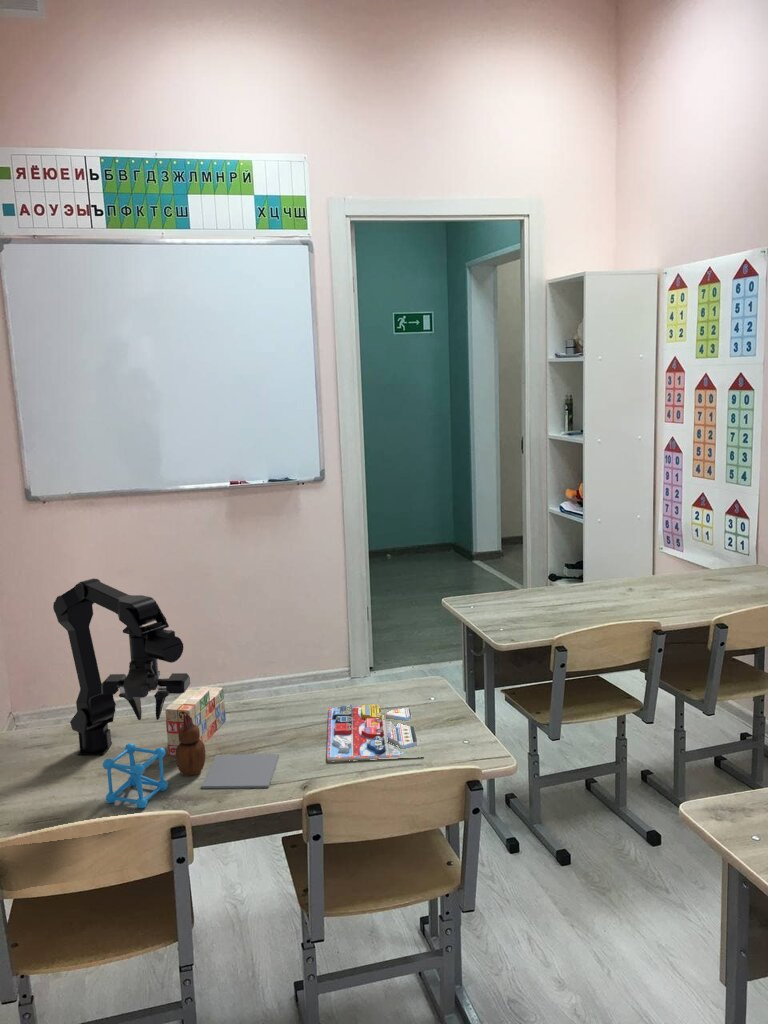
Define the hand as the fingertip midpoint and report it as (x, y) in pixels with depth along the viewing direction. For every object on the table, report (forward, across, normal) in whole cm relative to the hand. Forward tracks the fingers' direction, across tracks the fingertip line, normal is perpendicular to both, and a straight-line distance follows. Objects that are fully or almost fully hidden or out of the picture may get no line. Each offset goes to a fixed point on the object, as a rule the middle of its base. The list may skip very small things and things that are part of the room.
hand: (148, 719), depth 190 cm
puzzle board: (+14, +50, +20) cm, 56 cm away
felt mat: (+13, +20, 0) cm, 24 cm away
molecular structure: (+13, 0, -11) cm, 17 cm away
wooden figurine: (+13, +9, 0) cm, 16 cm away
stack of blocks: (+13, +6, +18) cm, 23 cm away
